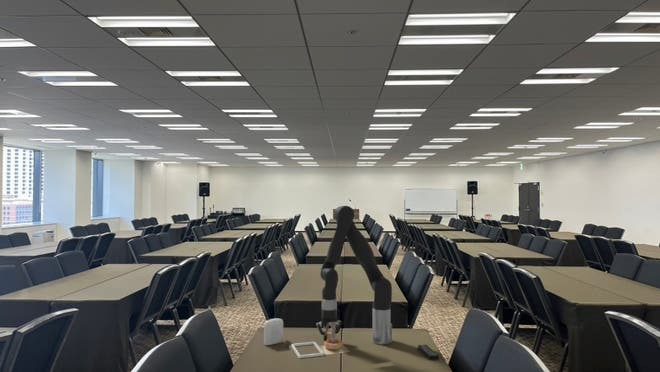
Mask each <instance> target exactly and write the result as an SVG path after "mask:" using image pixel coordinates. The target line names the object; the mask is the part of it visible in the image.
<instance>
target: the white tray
mask: <svg viewBox="0 0 660 372" xmlns="http://www.w3.org/2000/svg"><path fill="white" fill-rule="evenodd" d="M312 345H314V347H315V348H316V349H317V350H318V352H317V353H309V354H308V353H307V354H300V352H299V351H298V350H297V348H296V347H301V346H302V347H303V346H312ZM319 346H320V345H319V344H317V342H315V341H308V342H299V343H298V342H297V343H291V348H292V350H293V351H294V353H295V354H296V356H297V358H298V359H305V358H312V357H313V358H314V357H320V356H321V357H322V356H325V353H324V352H323V351H322V349H321V348H320V347H319Z"/></svg>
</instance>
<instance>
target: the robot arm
mask: <svg viewBox="0 0 660 372" xmlns="http://www.w3.org/2000/svg"><path fill="white" fill-rule="evenodd" d="M333 217H334V220H335V222H336V228H335V231H334V235H333V237H332V239H331V241H330V243H329V246H328V250H327V254H326V258H325V260H324V262H323V264H322V266H321V269H320V273H319V274H320V278H321V279H322V280H323V281H325V284H324V287H322V289H321V290H322V291H321V320H320V321H319V322H316V323H315V324H316V327H317V329H318V331H319V334H321V335H322V336H323V342H324V341H326V340H327V332H329V329H331V326H330V325H329V322H337V325H335V335H336V334H339V332H340V329H341V328H342V324H343V322H342V320H339V319H338V318H337V312H338V311H337V310H338V308H337V307H338V306H337V305H338V304H337V287H338V284H339V283H338V281H339V274H338V271H337V270H336V269H335V268H336V266H337V265H338V264H339V263H340V261H341V256H342V254H343V249H344V246H345V242H346V240H347V242H348V244H349V246H350V248H351V251H352V252H353V254H354V257H355V258H356V260H357V261H358V263H359V265H360V266H361V268H362V269H363V271H364V273H365V274H366V277H367V279H368V281H369V282H368V283H369V284H370V287H371V289H372V290H373V292H374V295H373V302H372V342H373V343H374V344H377V345H388V344H390V343H391V344H392V343H393V324H392V323H391V305H392V301H393V300H392V299H393V295H392V294H393V287H392V283H391V281H390V280H389V279H387V278H386V277H385V276H384V275H383V273H382V271H381V270H380V268H379V266H378V264H377V260H376V258H375V254H374V251H373V249H372V247H371V246H370V243H369V242H368V240H367V239H366V237H365V235H364V234H362V232H361V231H360V230H359V228H358V227H357V226H356V224H355V222H354V218H355V211H354V209H353V207H351V206H349V205H341V206H338V207H336V209H335V210H334V212H333ZM322 326H323V329H322Z"/></svg>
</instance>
